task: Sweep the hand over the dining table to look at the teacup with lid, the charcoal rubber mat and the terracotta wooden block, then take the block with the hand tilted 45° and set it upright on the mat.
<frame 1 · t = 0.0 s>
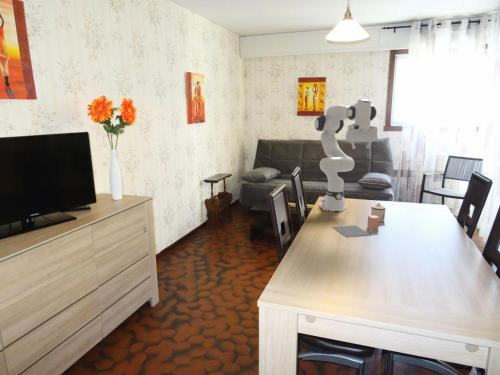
hand: (360, 148, 218), 48 cm above the table, tool pointing down, fingers open, 8 cm apart
teacup with lid: (377, 219, 234), on the table
charcoal mat: (351, 231, 210), on the table
terracotta block: (372, 229, 215), on the table
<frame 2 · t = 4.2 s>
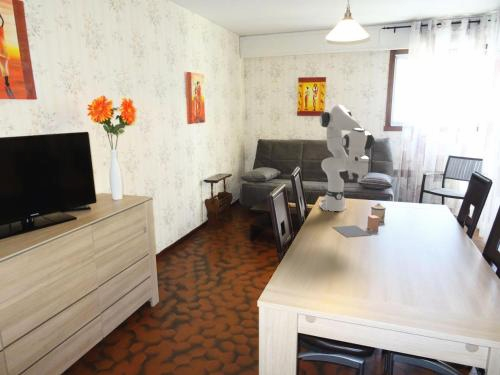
hand: (354, 180, 204), 31 cm above the table, tool pointing down, fingers open, 8 cm apart
nothing on the table moved.
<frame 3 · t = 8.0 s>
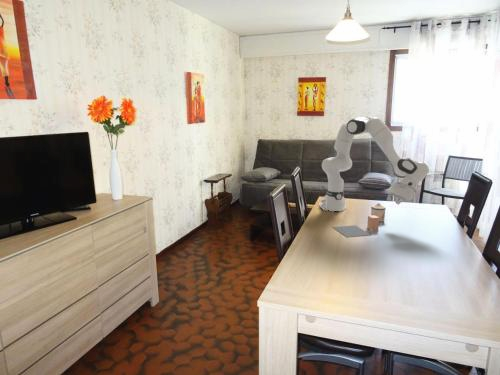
hand: (392, 201, 213), 17 cm above the table, tool tilted 45°, fingers open, 8 cm apart
nothing on the table moved.
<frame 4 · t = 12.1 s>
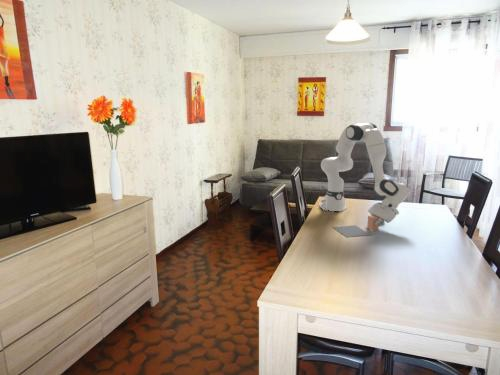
hand: (372, 222, 214), 4 cm above the table, tool tilted 45°, fingers closed on terracotta block, 5 cm apart
terracotta block: (372, 229, 215), on the table, touching gripper
everything else where it was.
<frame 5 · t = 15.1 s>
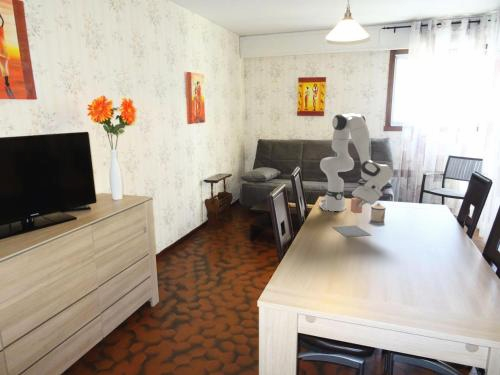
hand: (355, 204, 207), 16 cm above the table, tool tilted 45°, fingers closed on terracotta block, 5 cm apart
terracotta block: (356, 211, 208), point 12 cm above the table, touching gripper
everything else where it was.
when the fingers open (6 cm above the table, at t = 18.2 s): terracotta block drops 1 cm, resting on charcoal mat.
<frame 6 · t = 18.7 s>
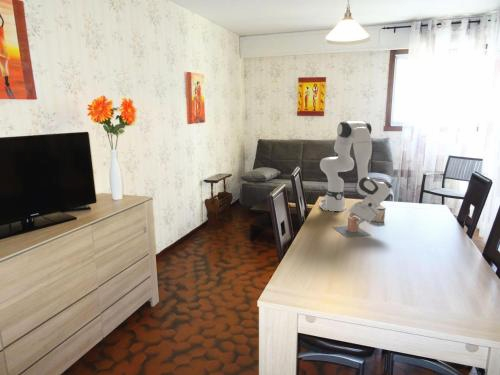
hand: (352, 221, 209), 6 cm above the table, tool tilted 45°, fingers open, 8 cm apart
terracotta block: (352, 230, 211), resting on charcoal mat
everything else where it was.
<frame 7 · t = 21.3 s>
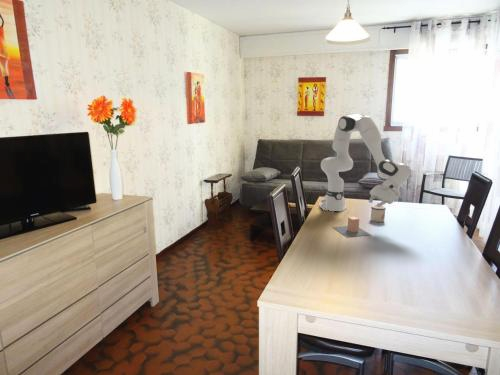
hand: (373, 204, 211), 16 cm above the table, tool tilted 45°, fingers open, 8 cm apart
nothing on the table moved.
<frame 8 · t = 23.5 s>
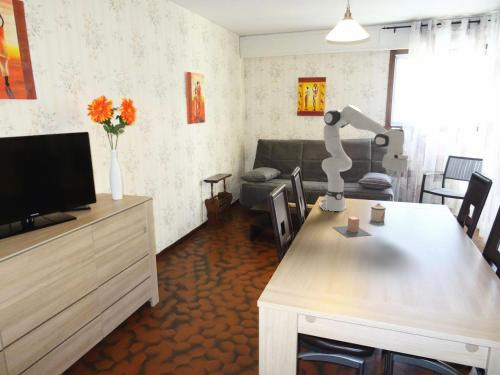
hand: (392, 176, 217), 31 cm above the table, tool pointing down, fingers open, 8 cm apart
nothing on the table moved.
at the end: terracotta block inside the target area on the charcoal mat (1.0 cm from its centre), point 0.2 cm above the charcoal mat's base; terracotta block tilted 0°; the gripper is holding nothing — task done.
